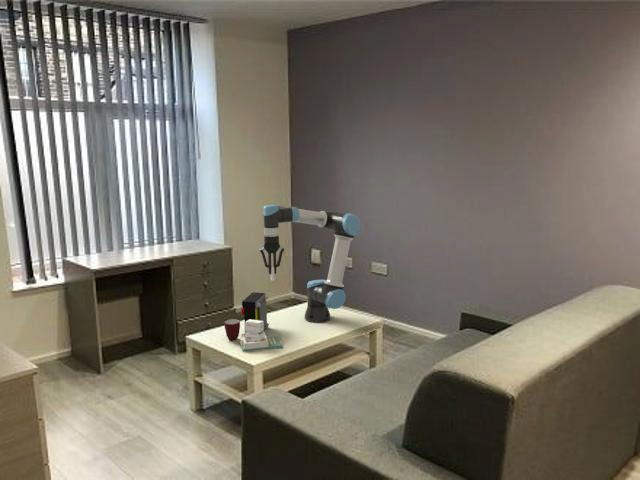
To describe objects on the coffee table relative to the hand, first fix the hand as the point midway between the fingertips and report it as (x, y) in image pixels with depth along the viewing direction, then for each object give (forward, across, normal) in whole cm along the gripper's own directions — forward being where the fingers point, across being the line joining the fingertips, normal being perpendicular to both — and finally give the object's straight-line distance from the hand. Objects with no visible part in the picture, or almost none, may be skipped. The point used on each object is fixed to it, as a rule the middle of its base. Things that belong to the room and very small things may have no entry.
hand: (272, 279), depth 276 cm
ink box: (+31, +11, +6) cm, 34 cm away
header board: (+32, +8, +6) cm, 34 cm away
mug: (+33, +22, -6) cm, 40 cm away
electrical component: (+33, +8, -13) cm, 36 cm away
